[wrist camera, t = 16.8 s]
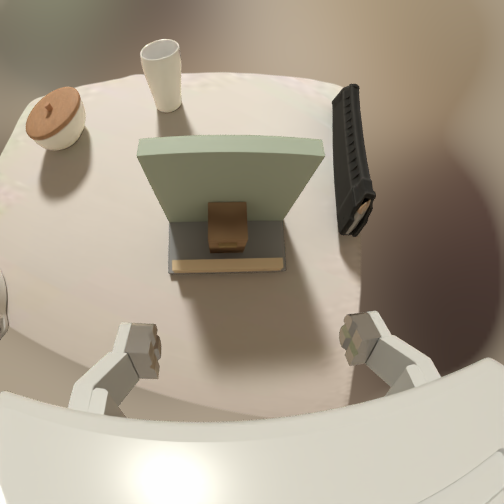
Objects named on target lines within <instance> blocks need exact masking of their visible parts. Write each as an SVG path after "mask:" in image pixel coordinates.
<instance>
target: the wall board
mask: <svg viewBox="0 0 504 504" xmlns="http://www.w3.org/2000/svg"><path fill="white" fill-rule="evenodd" d="M324 157H325V153H324V148H323V143H322V140H319V139H309V138H296V137H281V136H260V135H193V136H172V137H157V138H145V139H139V145H138V151H137V158H138V160H139V162H140V164H141V166H142V168H143V170H144V173H145V175H146V177H147V179H148V181H149V183H150V185H151V187H152V189H153V191H154V193H155V195H156V197H157V199H158V201H159V203H160V205H161V207H162V209H163V211H164V213H165V215H166V217H167V219H168V221H169V259H168V273H169V274H198V273H241V272H274V271H286V260H285V246H284V232H283V219H284V218H285V216H286V215H287V213H288V212H289V210H290V209H291V207H292V206H293V204H294V203H295V201H296V200H297V198H298V197H299V195H300V194H301V192H302V191H303V189H304V188H305V186H306V184H307V183H308V181H309V180H310V178H311V177H312V175H313V174H314V172H315V171H316V169H317V168H318V166H319V165H320V163H321V162H322V160H323V159H324ZM211 202H246V204H247V226H248V241H247V243H246V246H245V249H244V251H243V253H210V249H209V243H208V203H211Z"/></svg>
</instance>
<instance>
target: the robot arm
mask: <svg viewBox="0 0 504 504" xmlns="http://www.w3.org/2000/svg"><path fill="white" fill-rule="evenodd" d="M6 304H7V294H6V285H5V281H4V278H3V275H2V273H1V271H0V340H1V338H2V337H3V336H4V335H5V333H6V332H7V331H8V320H7V315H6ZM344 323H345V324H344V325H343V326H342V327H341V329H340V332H339V340H340V344H341V347H342V348H344V349H345V350H346V353H345V356H346V359H347V361H348V364H349V366H352V365H358V364H364V363H366V365H367V366H368V367H369V368H370V369H372V370H373V371H374V372H375V373H376V374H377V375H378V376H379V377H380V378H382V379H383V380H384V381H385V382H386V383H387V384H388V385H389V386H391V389H390V390H389V391H388V392H387V394H386V396H385V397H382V398H378V399H374V400H371V401H367V402H363V403H359V404H354V405H350V406H345V407H341V408H336V409H331V410H326V411H320V412H314V413H308V414H302V415H295V416H287V417H279V418H270V419H260V420H247V421H229V422H173V421H155V420H142V419H131V418H126V416H125V415H124V414H123V412H122V411H121V410H120V408H119V407H118V406H119V405H120V404H121V402H122V401H123V400H124V398H125V397H126V396H127V395H128V394H129V392H130V391H131V390H132V388H133V387H134V386H135V385H136V383H137V382H138V381H139V378H142V379H158V376H159V368H160V366H159V363H158V360H159V359H160V358H161V340H160V337H159V336H158V335H157V331H158V329H157V326H156V324H145V323H124V322H122V323H121V324H120V326H119V329H118V332H117V336H116V339H115V343H114V347H113V350H112V352H108V353H107V354H106V355H105V356H104V357H103V358H102V359H101V360H99V361H98V362H97V363H96V364H95V365H94V366H93V367H92V368H91V369H90V370H89V371H87V372H86V373H85V374H84V375H83V376H82V377H81V378H80V379H79V380H78V381H77V382H76V383H75V384H74V387H73V391H72V395H71V398H70V402H69V406H68V408H65V407H61V406H57V405H53V404H49V403H45V402H41V401H38V400H34V399H31V398H27V397H24V396H21V395H18V394H15V393H12V392H9V391H2V392H0V504H504V366H503V365H502V364H500V363H499V362H497V361H495V360H494V359H492V358H485V359H482V360H480V361H478V362H476V363H474V364H472V365H470V366H467V367H465V368H463V369H461V370H458V371H456V372H454V373H452V374H449V375H446V376H444V377H440V375H439V373H438V372H437V370H436V368H435V366H434V364H433V362H432V361H431V359H430V358H429V357H427V356H426V355H424V354H422V353H421V352H419V351H418V350H416V349H414V348H413V347H412V346H410V345H409V344H407V343H405V342H404V341H402V340H401V339H399V338H398V337H396V336H394V335H393V336H392V335H391V334H390V332H389V330H388V328H387V327H386V325H385V323H384V322H383V320H382V318H381V316H380V315H379V313H378V312H377V311H372V312H364V313H355V314H347V315H346V316H345V318H344Z"/></svg>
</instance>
